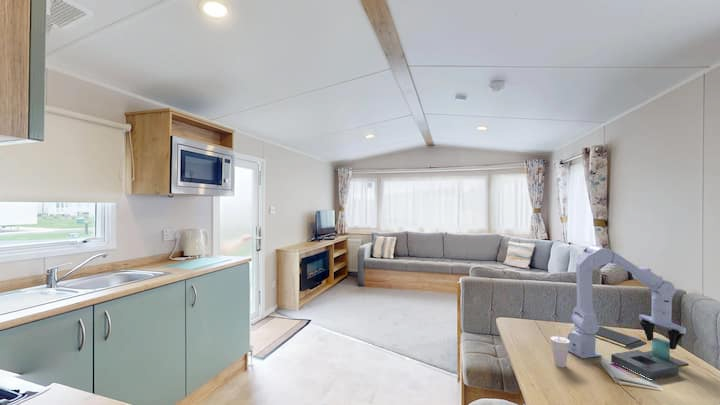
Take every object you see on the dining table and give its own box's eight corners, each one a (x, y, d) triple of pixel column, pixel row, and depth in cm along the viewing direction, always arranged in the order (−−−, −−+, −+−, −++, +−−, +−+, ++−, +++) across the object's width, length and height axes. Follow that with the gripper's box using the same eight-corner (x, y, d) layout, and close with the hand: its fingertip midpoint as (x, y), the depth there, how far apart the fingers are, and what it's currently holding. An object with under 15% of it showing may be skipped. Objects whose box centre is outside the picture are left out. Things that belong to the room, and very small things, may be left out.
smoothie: (552, 358, 125) (553, 323, 125) (571, 364, 120) (572, 328, 120) (548, 364, 120) (548, 327, 120) (567, 371, 116) (568, 333, 116)
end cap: (664, 362, 121) (664, 344, 121) (648, 356, 126) (649, 338, 126) (673, 360, 123) (673, 342, 123) (657, 354, 128) (657, 337, 127)
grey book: (648, 340, 138) (629, 347, 132) (648, 344, 138) (628, 351, 132) (598, 324, 157) (579, 329, 151) (598, 327, 157) (579, 333, 151)
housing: (649, 380, 110) (649, 371, 110) (611, 362, 122) (611, 354, 122) (678, 374, 114) (678, 366, 113) (637, 357, 126) (638, 349, 126)
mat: (667, 368, 118) (667, 367, 118) (635, 354, 128) (635, 353, 128) (688, 364, 121) (688, 363, 121) (654, 351, 131) (654, 350, 131)
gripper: (691, 315, 118) (691, 351, 118) (647, 303, 132) (647, 335, 132) (678, 317, 117) (678, 354, 117) (635, 304, 131) (635, 337, 131)
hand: (661, 344), depth 124 cm, fingers open, 7 cm apart
